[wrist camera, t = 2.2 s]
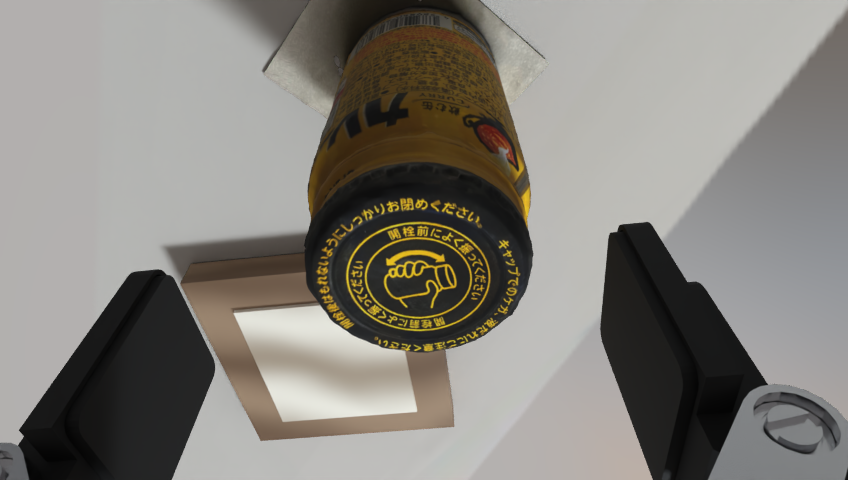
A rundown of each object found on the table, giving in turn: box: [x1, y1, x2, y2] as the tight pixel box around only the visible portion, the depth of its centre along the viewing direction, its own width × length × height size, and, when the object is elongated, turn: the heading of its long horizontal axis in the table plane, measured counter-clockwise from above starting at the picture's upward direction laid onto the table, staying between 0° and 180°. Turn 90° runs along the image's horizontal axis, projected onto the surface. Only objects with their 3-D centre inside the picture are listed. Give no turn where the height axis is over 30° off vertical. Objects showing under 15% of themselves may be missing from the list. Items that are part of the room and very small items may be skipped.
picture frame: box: [180, 253, 454, 441], centre depth 30 cm, size 13×12×2 cm
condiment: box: [264, 0, 549, 353], centre depth 17 cm, size 7×8×12 cm
